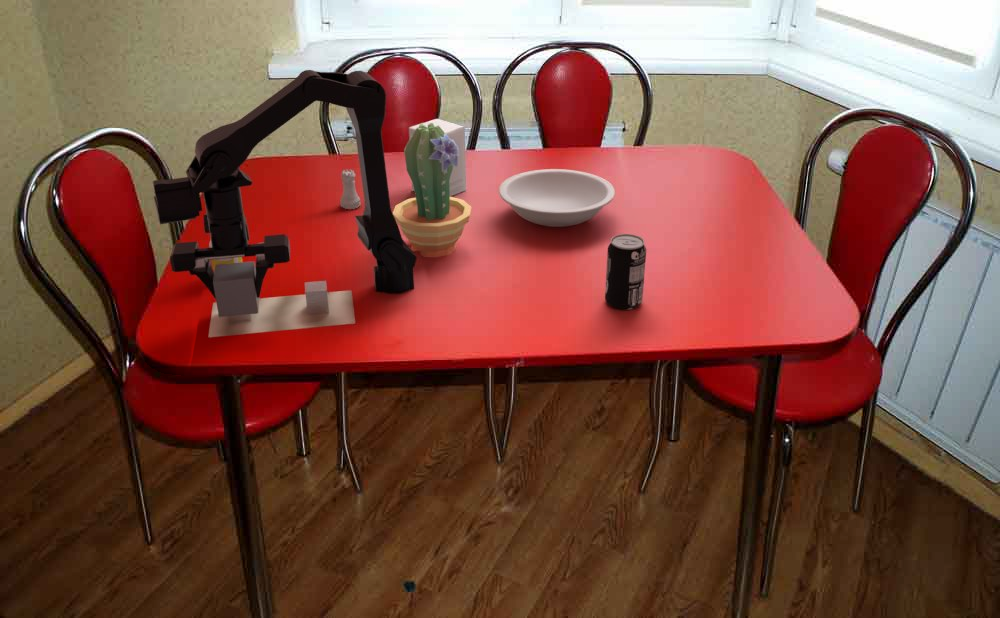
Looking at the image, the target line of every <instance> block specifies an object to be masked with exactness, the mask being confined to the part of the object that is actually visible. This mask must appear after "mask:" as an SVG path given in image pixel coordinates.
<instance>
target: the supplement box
mask: <svg viewBox="0 0 1000 618" xmlns="http://www.w3.org/2000/svg"><path fill="white" fill-rule="evenodd" d="M430 123H433V124H434V126H438V125H439V126H440V128H441V129H442V130H443V131H444V132H445V134H446V135H447V136H448V137H449V138H450V139H451V140H454V142H455V144H456V145H457V146H458V148H459V149H458V152H459V155H457V157H458V166H457V167H456V166H455V165H454V164H453V170H452V173H451V176H450V179H449V189H450V197H453V196H455V195H458V194H461V193H463V192H465V191H467V171H466V168H467V165H466V163H467V162H466V132H465V131H466V130H465V129H466V127H465V126H462V125H461V124H460V125H459V124H456V123H452V122H449V121H446V120H444V119H443V120H442V119H441V118H434V119H432V120H429V121H426V122H421V123H419V124H415V125H412V126H410V127H408V136H409V139H410V138H411V136H412V135H413V133H414V131H415V130H416V128H418V127H419V125H420V124H423V125H425V126H426V127H428V125H429V124H430ZM411 186H412V187H411V188H412V192H413V191H414V186H413V182H412V181H411Z"/></svg>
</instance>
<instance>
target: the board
mask: <svg viewBox="0 0 1000 618" xmlns="http://www.w3.org/2000/svg"><path fill="white" fill-rule="evenodd" d="M327 294H328V304H329V314H318V315H308V312H307V303H306V295H305V293H304V294H294V295H285V296H274V297H263V298H261V297H259V311H258V313H257V314H252V321H243V322H233V323H230V322H229V316H225V317H219V315H218V309H217V303H216V302H212V309H211V317H210V322H209V329H208V338H216V337H218V338H219V337H226V336H227V337H228V336H237V335H246V334H256V333H257V334H259V333H269V332H279V331H281V332H282V331H288V330H290V331H291V330H298V329H299V330H301V329H311V328H320V327H321V328H322V327H331V326H332V327H333V326H341V325H353V324H354V325H355V324H356V319H355V318H356V317H355V309H354V302H353V300H354V299H353V292H352V290H338V291H329V292H328V291H327Z"/></svg>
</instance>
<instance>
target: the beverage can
mask: <svg viewBox="0 0 1000 618" xmlns="http://www.w3.org/2000/svg"><path fill="white" fill-rule="evenodd" d="M606 255H607V258H606V272H605V273H606V274H605V289H604V291H605V292H604V299H605V301H606V303H607V304H608V305H609V306H610V307H612V308H613V309H616V310H623V311H624V310H625V311H629V310H633V309H636V308H637V307H638V306H639V305H641V303H642V302H643V300H644V299H643V298H644V284H645V271H646V259H647V248H646V245H645V240H644V239H643V238H642V236H639V235H636V234H631V233H621V234H616V235H614V236H612V237H611V239H610V243H609V244H608V246H607V254H606Z"/></svg>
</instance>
